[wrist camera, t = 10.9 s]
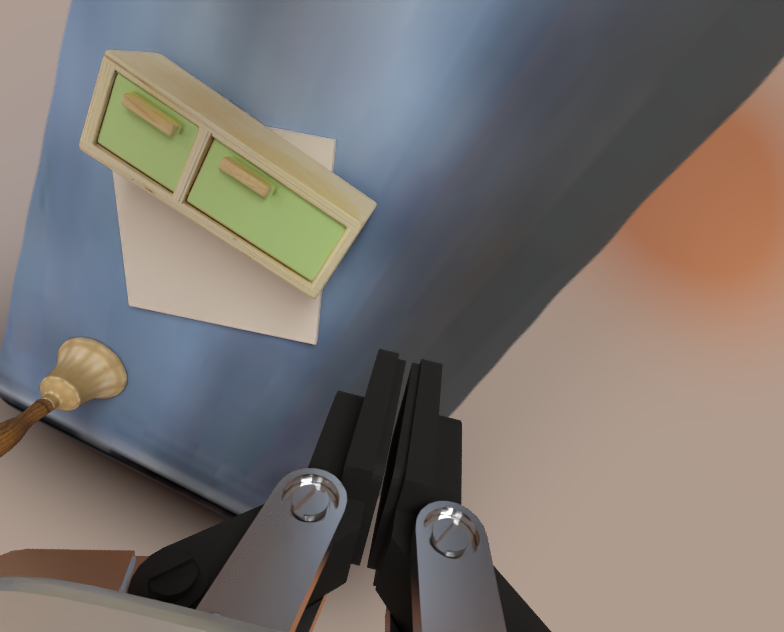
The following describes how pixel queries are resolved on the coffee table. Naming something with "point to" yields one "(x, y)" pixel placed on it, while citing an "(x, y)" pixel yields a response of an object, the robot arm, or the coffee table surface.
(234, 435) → the coffee table surface
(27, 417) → the hand bell
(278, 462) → the coffee table surface
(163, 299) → the sheet of paper
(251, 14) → the coffee table surface
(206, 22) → the coffee table surface
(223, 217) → the toy refrigerator
